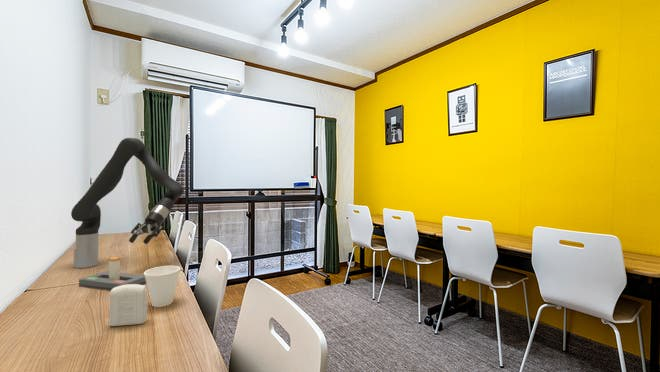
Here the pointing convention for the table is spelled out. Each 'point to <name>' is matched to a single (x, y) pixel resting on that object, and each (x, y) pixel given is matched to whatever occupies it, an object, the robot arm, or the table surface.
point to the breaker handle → (114, 268)
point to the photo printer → (128, 305)
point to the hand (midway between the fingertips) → (137, 242)
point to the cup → (162, 284)
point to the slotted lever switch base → (111, 280)
